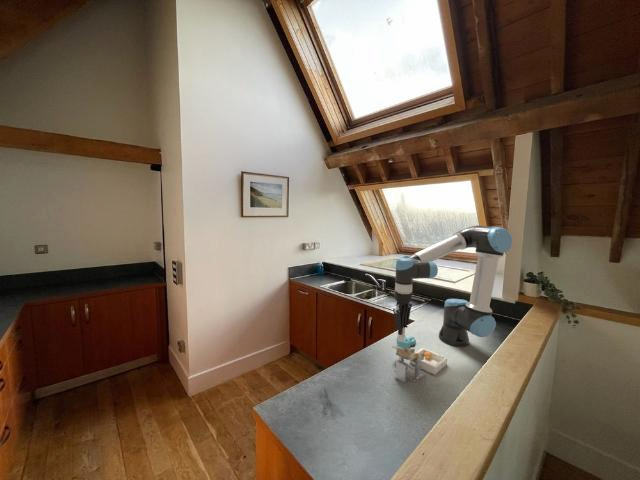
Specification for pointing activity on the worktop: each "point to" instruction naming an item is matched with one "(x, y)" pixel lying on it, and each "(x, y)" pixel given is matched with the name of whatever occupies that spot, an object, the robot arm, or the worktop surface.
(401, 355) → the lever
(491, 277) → the robot arm
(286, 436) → the worktop surface
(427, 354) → the ball
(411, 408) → the worktop surface
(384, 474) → the worktop surface
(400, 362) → the fulcrum
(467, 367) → the worktop surface
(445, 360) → the dish
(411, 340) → the toy
